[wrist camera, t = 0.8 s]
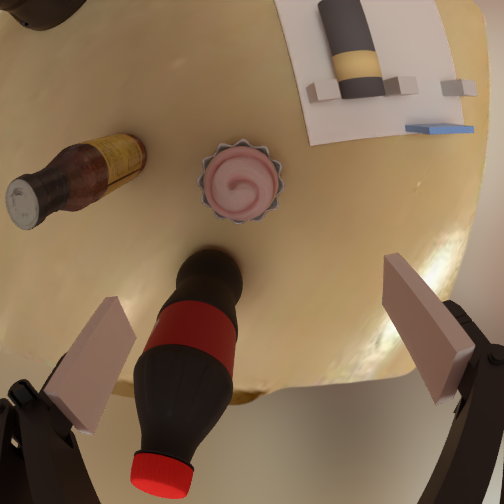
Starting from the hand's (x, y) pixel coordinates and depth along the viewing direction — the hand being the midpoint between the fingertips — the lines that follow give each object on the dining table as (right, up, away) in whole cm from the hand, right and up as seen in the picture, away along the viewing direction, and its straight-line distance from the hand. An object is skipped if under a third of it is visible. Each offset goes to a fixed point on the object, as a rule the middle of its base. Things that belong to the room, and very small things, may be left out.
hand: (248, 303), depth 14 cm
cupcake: (-1, +12, +21) cm, 24 cm away
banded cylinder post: (+11, +26, +14) cm, 31 cm away
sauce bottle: (-16, +14, +20) cm, 30 cm away
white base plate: (+16, +26, +14) cm, 34 cm away
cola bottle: (-5, 0, +27) cm, 27 cm away
